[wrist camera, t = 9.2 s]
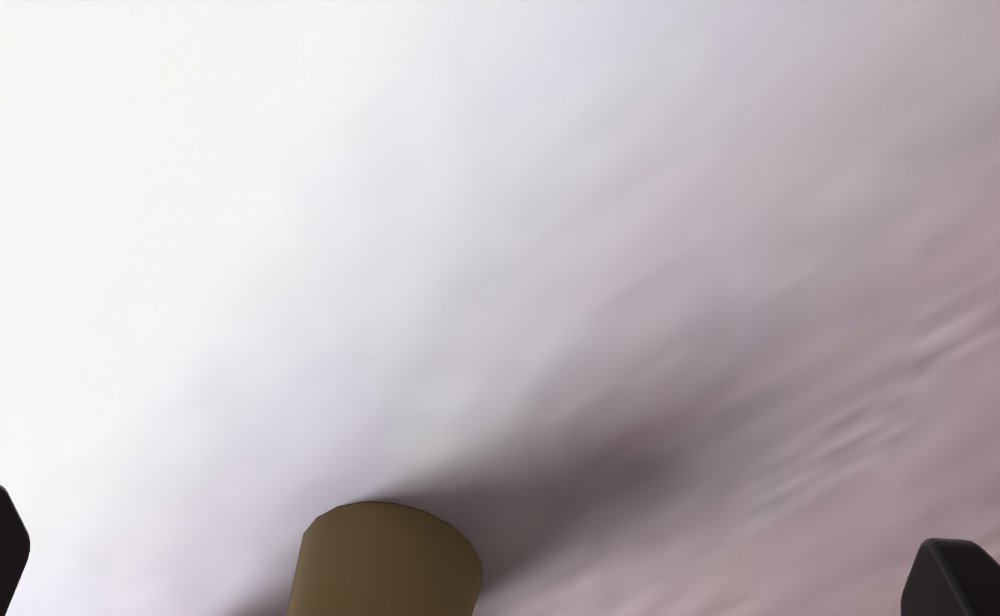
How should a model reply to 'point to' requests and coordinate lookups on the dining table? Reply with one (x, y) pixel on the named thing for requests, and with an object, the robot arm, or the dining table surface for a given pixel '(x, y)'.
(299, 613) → the olive drink cup
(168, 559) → the dining table surface
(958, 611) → the robot arm
